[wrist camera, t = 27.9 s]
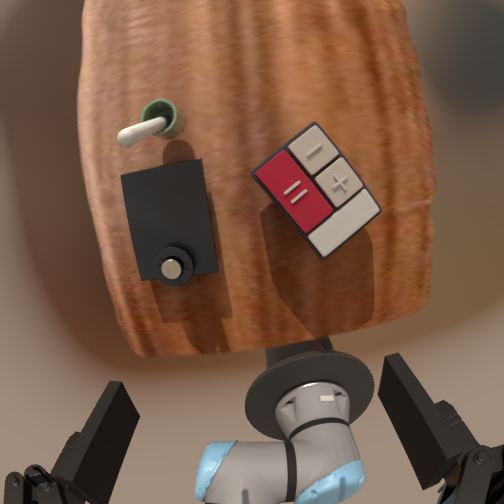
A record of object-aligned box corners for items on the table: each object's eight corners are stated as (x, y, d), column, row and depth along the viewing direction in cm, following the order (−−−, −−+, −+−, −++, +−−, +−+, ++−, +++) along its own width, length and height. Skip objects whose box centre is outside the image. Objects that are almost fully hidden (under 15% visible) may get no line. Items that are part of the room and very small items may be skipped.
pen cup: (187, 135, 35) (179, 130, 30) (154, 142, 35) (141, 139, 31) (184, 103, 34) (175, 94, 29) (151, 111, 34) (138, 104, 29)
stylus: (175, 125, 34) (133, 146, 22) (163, 128, 35) (116, 151, 22) (172, 113, 34) (128, 127, 21) (160, 116, 34) (112, 133, 21)
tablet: (220, 275, 41) (218, 281, 38) (145, 283, 41) (139, 289, 39) (202, 158, 36) (198, 157, 34) (123, 175, 37) (116, 175, 34)
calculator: (316, 118, 31) (385, 211, 34) (310, 124, 35) (373, 207, 38) (248, 172, 33) (324, 263, 36) (249, 173, 37) (317, 254, 40)
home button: (184, 274, 38) (182, 278, 37) (166, 276, 39) (163, 280, 37) (181, 255, 38) (178, 258, 36) (162, 258, 38) (159, 260, 36)
